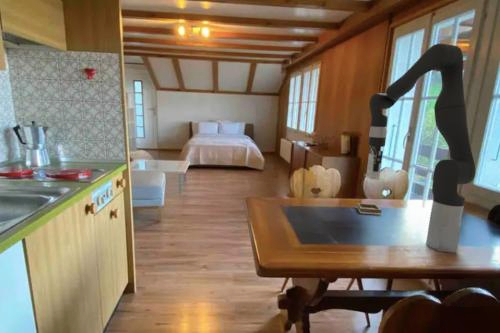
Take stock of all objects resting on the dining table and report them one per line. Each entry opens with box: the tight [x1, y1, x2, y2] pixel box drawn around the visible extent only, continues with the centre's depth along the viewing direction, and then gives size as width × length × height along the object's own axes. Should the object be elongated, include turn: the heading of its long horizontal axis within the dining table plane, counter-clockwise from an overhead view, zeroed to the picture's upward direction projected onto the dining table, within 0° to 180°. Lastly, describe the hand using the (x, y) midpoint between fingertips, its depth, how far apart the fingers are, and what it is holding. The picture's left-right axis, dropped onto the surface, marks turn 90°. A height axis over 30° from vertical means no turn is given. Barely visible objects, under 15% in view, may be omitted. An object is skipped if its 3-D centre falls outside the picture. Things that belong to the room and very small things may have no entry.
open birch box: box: [356, 202, 382, 216], centre depth 141 cm, size 9×10×2 cm
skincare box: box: [365, 153, 382, 180], centre depth 137 cm, size 6×4×12 cm
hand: (373, 170), depth 137 cm, fingers closed on skincare box, 6 cm apart
